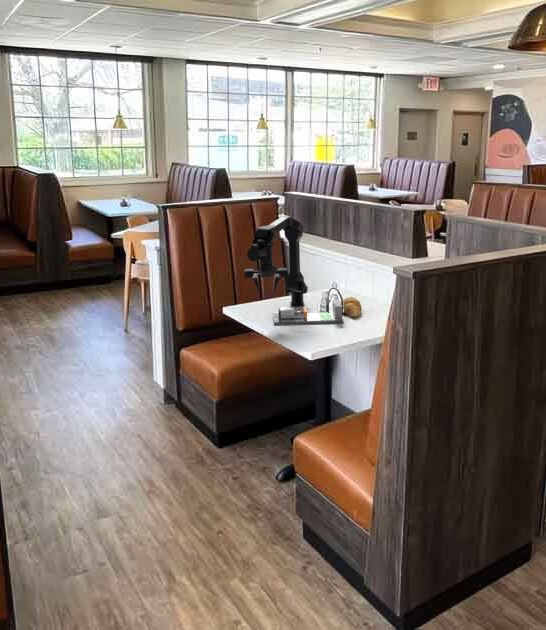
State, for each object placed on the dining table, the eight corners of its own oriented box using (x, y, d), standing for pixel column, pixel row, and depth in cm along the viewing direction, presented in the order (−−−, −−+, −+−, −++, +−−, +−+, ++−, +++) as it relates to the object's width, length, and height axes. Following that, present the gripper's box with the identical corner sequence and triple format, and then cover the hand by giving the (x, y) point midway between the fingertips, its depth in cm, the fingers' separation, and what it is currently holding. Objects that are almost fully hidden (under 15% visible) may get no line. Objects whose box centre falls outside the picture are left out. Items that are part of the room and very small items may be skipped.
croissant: (361, 326, 279) (370, 310, 277) (342, 317, 276) (350, 301, 274) (350, 311, 299) (358, 296, 297) (332, 302, 296) (340, 288, 294)
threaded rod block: (278, 315, 279) (278, 307, 278) (302, 314, 279) (302, 306, 278) (278, 318, 274) (278, 310, 273) (303, 317, 275) (303, 309, 274)
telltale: (303, 313, 280) (303, 307, 279) (306, 313, 280) (306, 307, 279) (304, 318, 273) (304, 311, 272) (307, 318, 273) (307, 311, 273)
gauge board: (273, 316, 283) (273, 300, 281) (339, 314, 284) (339, 299, 282) (274, 325, 271) (273, 309, 269) (343, 323, 271) (343, 307, 269)
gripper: (243, 261, 260) (244, 297, 265) (288, 260, 261) (289, 296, 266) (244, 255, 271) (245, 290, 276) (287, 254, 272) (287, 289, 276)
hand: (266, 292), depth 273 cm, fingers open, 6 cm apart
